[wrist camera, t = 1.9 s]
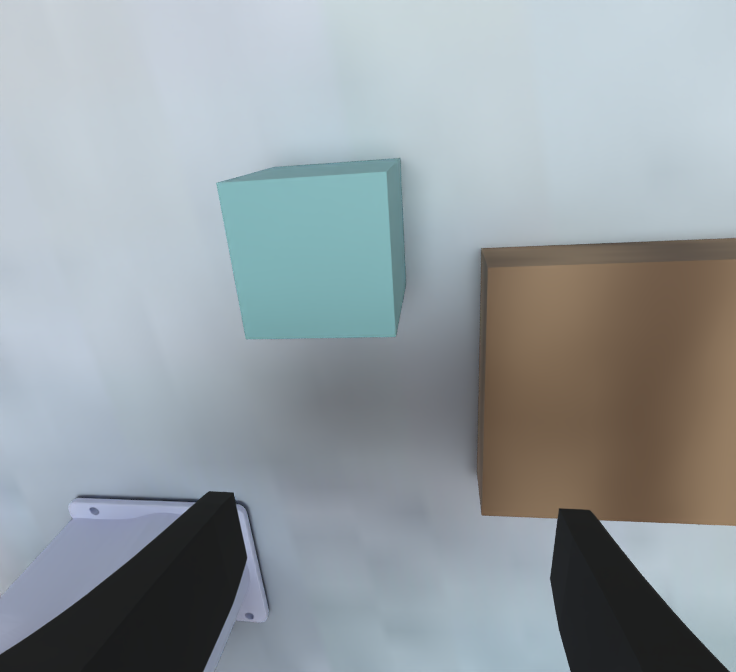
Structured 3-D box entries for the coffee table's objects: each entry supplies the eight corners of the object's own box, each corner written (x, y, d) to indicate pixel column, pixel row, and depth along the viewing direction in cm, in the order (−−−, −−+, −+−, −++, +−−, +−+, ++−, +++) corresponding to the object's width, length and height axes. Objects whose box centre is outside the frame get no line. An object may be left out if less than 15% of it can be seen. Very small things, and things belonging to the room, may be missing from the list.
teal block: (291, 287, 19) (245, 339, 15) (274, 167, 17) (216, 182, 13) (405, 284, 18) (395, 337, 14) (400, 157, 17) (386, 171, 12)
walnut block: (476, 466, 22) (481, 515, 19) (480, 245, 18) (487, 267, 15) (721, 472, 20) (764, 526, 18) (784, 232, 16) (853, 255, 14)
